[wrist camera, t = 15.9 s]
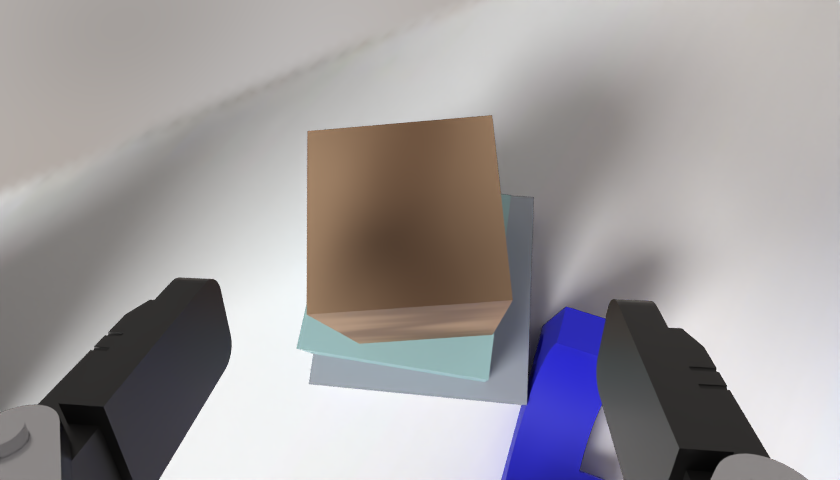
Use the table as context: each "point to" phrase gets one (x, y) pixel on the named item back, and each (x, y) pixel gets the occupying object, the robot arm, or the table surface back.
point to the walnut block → (406, 231)
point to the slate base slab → (506, 352)
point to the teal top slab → (408, 346)
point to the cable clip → (558, 401)
